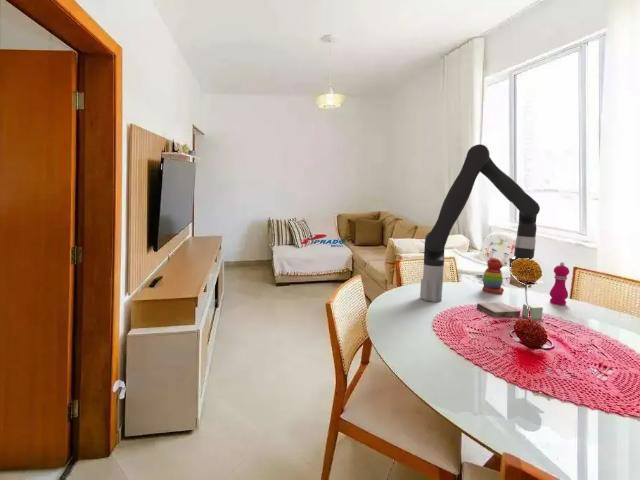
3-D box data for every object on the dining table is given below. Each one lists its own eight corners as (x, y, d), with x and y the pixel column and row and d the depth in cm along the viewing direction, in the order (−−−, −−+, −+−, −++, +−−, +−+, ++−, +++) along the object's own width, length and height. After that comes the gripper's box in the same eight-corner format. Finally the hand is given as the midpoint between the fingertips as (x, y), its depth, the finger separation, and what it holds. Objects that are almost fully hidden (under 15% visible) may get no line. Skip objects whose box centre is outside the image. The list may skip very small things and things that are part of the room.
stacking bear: (502, 295, 178) (505, 261, 176) (480, 291, 183) (483, 258, 181) (503, 290, 187) (506, 257, 185) (483, 287, 192) (485, 255, 190)
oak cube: (518, 287, 151) (520, 274, 150) (509, 284, 156) (510, 271, 156) (531, 287, 152) (532, 274, 151) (521, 283, 157) (522, 271, 157)
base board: (494, 316, 146) (494, 312, 146) (477, 307, 158) (477, 303, 157) (519, 315, 148) (520, 311, 148) (500, 306, 160) (501, 302, 159)
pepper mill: (565, 302, 168) (570, 261, 165) (568, 306, 161) (573, 264, 158) (547, 300, 171) (552, 260, 168) (550, 304, 164) (554, 262, 161)
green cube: (530, 319, 144) (532, 307, 143) (522, 315, 149) (523, 304, 148) (541, 319, 145) (542, 307, 144) (532, 314, 149) (533, 303, 149)
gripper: (505, 243, 158) (501, 279, 160) (529, 249, 144) (524, 288, 146) (520, 244, 159) (516, 279, 162) (545, 249, 145) (540, 288, 148)
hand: (520, 283), depth 154 cm, fingers closed on oak cube, 6 cm apart
